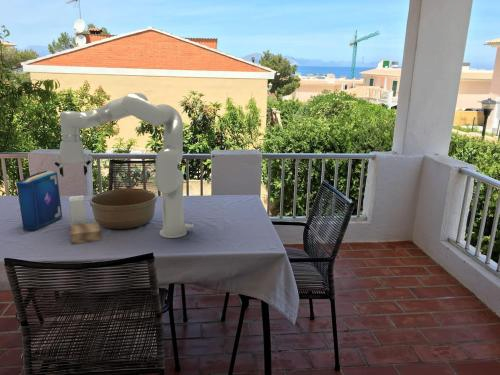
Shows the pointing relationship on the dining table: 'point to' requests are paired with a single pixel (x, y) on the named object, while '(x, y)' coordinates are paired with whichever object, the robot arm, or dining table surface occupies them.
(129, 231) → the dining table surface
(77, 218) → the skincare box
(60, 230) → the dining table surface
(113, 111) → the robot arm
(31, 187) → the book
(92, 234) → the tan flat block
